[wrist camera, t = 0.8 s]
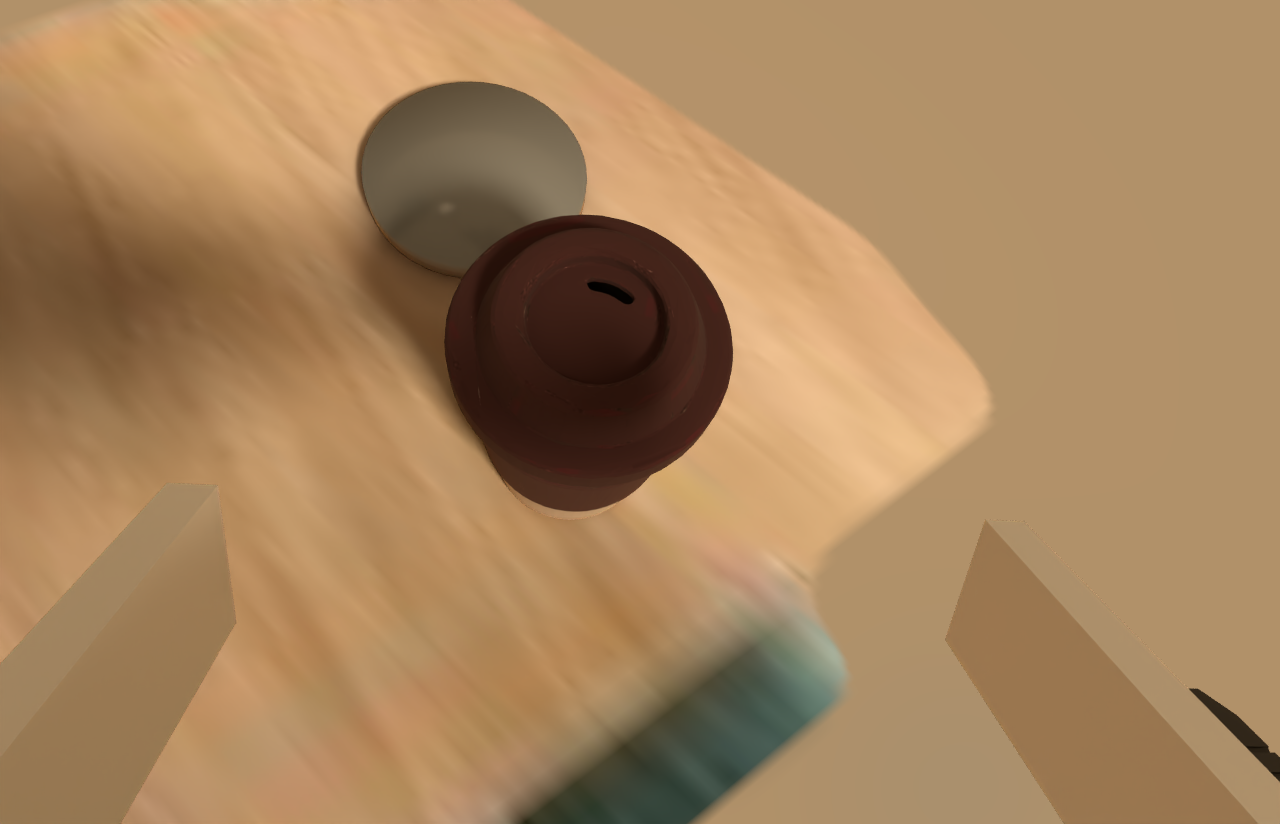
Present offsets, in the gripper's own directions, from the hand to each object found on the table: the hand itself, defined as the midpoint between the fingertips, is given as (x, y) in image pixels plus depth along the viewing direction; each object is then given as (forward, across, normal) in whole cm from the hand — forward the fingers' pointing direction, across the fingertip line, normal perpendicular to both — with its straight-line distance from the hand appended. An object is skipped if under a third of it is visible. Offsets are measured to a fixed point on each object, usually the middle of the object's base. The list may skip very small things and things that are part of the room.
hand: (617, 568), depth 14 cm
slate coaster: (+34, -6, +1) cm, 35 cm away
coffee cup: (+24, 0, -10) cm, 26 cm away
